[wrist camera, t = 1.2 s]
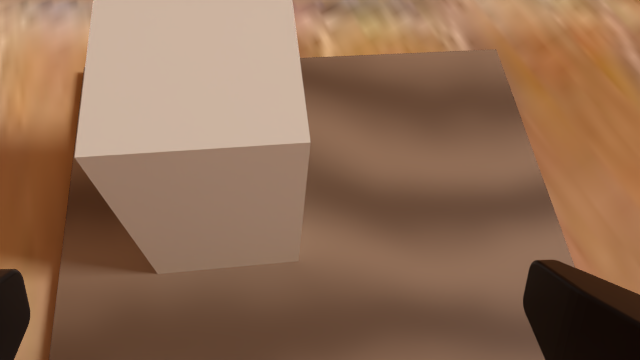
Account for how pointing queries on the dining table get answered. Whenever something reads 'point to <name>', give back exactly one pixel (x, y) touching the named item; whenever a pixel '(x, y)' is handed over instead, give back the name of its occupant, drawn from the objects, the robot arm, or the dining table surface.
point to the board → (346, 235)
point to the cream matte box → (198, 129)
